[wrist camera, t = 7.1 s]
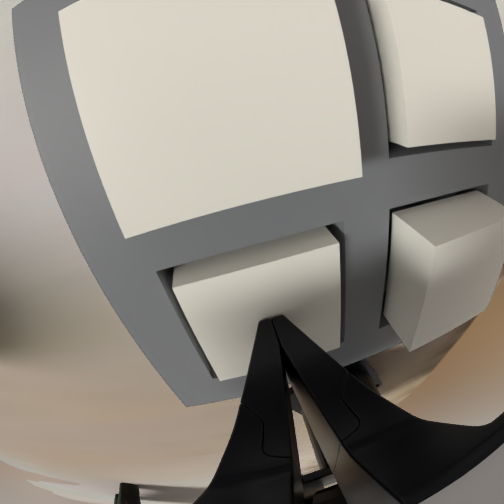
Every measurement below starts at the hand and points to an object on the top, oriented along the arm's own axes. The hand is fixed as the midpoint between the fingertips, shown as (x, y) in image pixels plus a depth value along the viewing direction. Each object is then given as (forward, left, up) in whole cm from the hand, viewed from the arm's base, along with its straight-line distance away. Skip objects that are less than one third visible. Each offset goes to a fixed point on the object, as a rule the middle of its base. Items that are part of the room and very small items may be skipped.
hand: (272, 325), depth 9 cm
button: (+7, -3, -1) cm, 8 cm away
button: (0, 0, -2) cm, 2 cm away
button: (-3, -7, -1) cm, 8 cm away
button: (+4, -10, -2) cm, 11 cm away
